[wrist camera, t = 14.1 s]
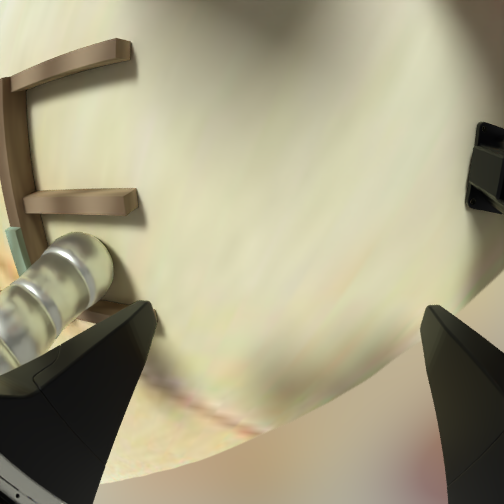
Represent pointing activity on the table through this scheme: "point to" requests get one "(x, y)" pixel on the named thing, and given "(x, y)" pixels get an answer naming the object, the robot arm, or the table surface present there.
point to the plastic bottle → (51, 296)
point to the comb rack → (21, 175)
